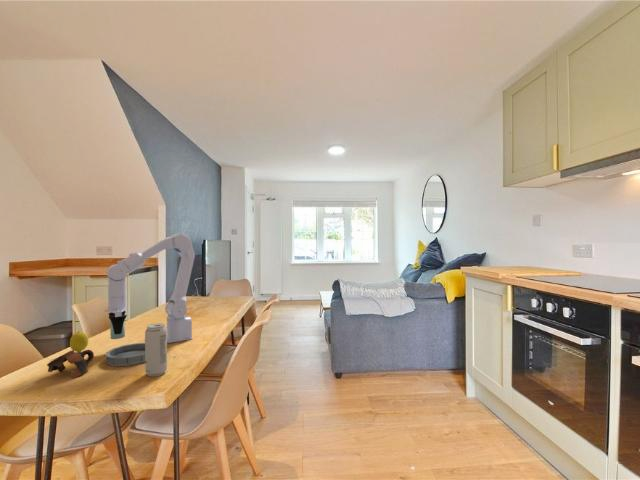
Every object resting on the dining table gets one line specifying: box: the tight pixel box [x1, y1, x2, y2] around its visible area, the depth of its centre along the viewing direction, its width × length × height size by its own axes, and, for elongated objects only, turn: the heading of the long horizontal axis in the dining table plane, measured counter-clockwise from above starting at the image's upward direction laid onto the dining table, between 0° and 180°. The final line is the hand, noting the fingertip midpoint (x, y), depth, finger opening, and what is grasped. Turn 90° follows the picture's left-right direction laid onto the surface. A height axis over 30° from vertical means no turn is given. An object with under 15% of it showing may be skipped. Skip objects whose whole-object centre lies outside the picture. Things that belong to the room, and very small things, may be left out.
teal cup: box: [109, 319, 126, 340], centre depth 124 cm, size 5×5×6 cm
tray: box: [105, 342, 145, 368], centre depth 116 cm, size 16×16×3 cm
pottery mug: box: [46, 349, 95, 379], centre depth 104 cm, size 12×10×8 cm
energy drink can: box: [144, 322, 168, 378], centre depth 102 cm, size 6×6×15 cm
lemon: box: [69, 330, 89, 353], centre depth 122 cm, size 6×6×8 cm
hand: (117, 332), depth 124 cm, fingers closed on teal cup, 5 cm apart
